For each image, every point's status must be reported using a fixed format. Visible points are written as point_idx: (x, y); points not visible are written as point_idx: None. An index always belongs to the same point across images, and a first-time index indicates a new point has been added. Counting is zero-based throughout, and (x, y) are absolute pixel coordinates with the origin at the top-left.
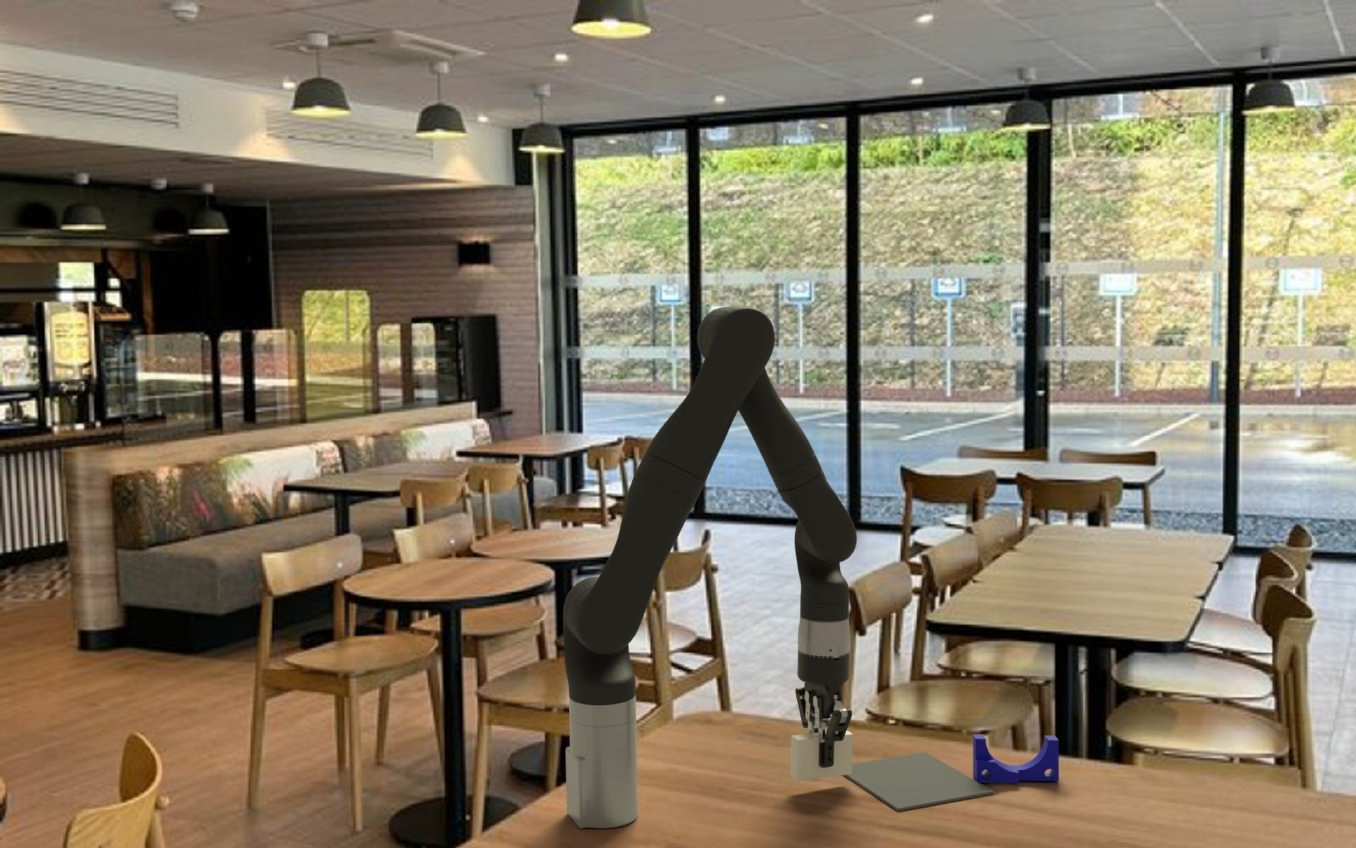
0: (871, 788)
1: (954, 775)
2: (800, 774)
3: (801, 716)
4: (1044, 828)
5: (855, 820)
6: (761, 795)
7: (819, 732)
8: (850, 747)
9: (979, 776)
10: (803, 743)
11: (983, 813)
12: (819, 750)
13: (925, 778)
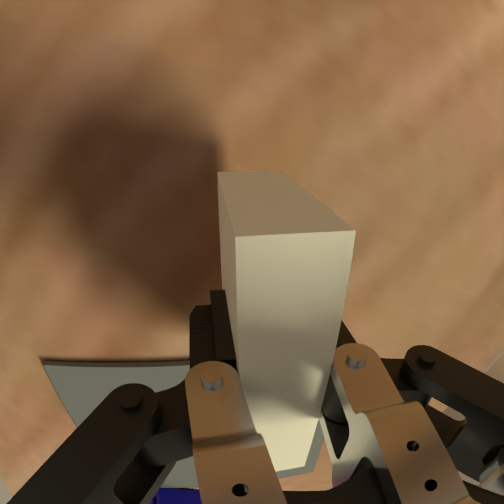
0: (172, 373)
1: (195, 480)
2: (219, 193)
3: (466, 374)
4: (7, 457)
5: (3, 253)
6: (268, 57)
7: (234, 407)
8: None
9: (157, 496)
10: (233, 267)
11: (45, 446)
12: (227, 331)
13: None
